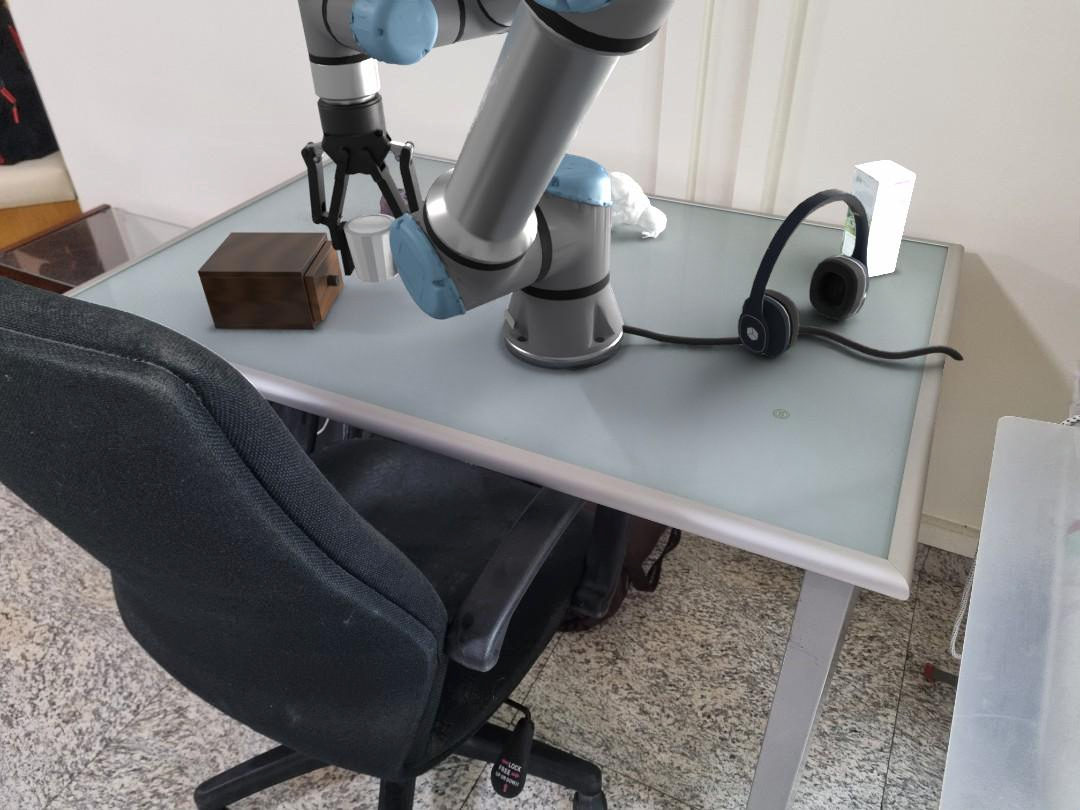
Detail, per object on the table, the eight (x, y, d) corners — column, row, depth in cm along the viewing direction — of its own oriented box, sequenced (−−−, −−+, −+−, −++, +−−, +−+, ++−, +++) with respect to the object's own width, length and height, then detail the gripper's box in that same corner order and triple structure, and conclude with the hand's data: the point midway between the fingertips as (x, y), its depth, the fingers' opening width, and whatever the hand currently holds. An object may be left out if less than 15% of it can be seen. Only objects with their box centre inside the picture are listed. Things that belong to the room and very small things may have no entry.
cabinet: (337, 287, 120) (326, 232, 115) (313, 330, 111) (300, 271, 106) (246, 287, 122) (231, 232, 117) (215, 328, 112) (197, 271, 107)
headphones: (827, 296, 113) (852, 165, 103) (871, 316, 109) (902, 180, 98) (725, 348, 104) (741, 209, 93) (769, 372, 99) (791, 229, 89)
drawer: (352, 284, 119) (343, 240, 115) (331, 322, 111) (321, 276, 107) (258, 283, 120) (247, 240, 116) (231, 321, 112) (218, 275, 108)
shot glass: (394, 286, 109) (386, 237, 104) (344, 283, 110) (334, 233, 106) (411, 262, 114) (404, 214, 110) (363, 259, 115) (355, 211, 111)
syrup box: (895, 272, 118) (919, 172, 110) (859, 279, 117) (880, 179, 108) (870, 255, 123) (891, 158, 114) (835, 262, 121) (854, 164, 113)
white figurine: (616, 162, 132) (680, 186, 126) (611, 212, 137) (672, 237, 132) (591, 175, 128) (656, 200, 122) (587, 225, 134) (649, 252, 128)
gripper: (437, 84, 100) (455, 258, 114) (277, 86, 102) (314, 257, 116) (425, 104, 94) (446, 285, 108) (255, 105, 96) (297, 284, 110)
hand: (377, 270), depth 112 cm, fingers closed on shot glass, 7 cm apart
